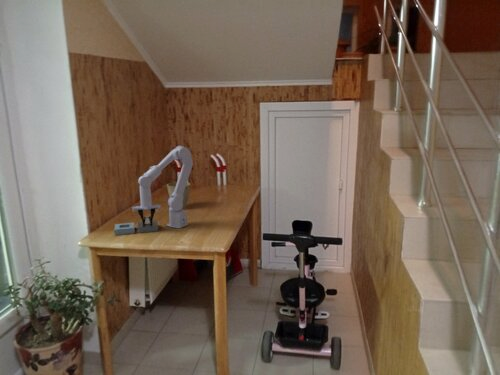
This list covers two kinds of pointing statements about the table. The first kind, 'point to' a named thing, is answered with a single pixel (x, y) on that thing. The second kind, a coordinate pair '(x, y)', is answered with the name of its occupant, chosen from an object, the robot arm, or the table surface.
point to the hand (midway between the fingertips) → (147, 222)
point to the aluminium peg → (147, 220)
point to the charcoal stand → (147, 227)
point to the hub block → (124, 228)
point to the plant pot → (185, 195)
